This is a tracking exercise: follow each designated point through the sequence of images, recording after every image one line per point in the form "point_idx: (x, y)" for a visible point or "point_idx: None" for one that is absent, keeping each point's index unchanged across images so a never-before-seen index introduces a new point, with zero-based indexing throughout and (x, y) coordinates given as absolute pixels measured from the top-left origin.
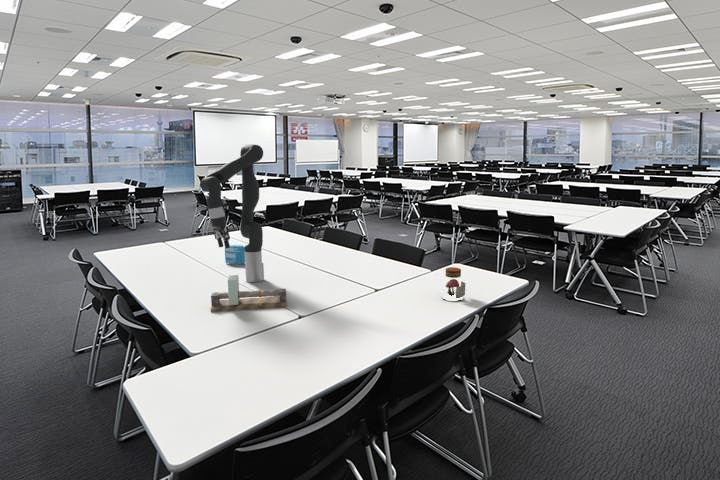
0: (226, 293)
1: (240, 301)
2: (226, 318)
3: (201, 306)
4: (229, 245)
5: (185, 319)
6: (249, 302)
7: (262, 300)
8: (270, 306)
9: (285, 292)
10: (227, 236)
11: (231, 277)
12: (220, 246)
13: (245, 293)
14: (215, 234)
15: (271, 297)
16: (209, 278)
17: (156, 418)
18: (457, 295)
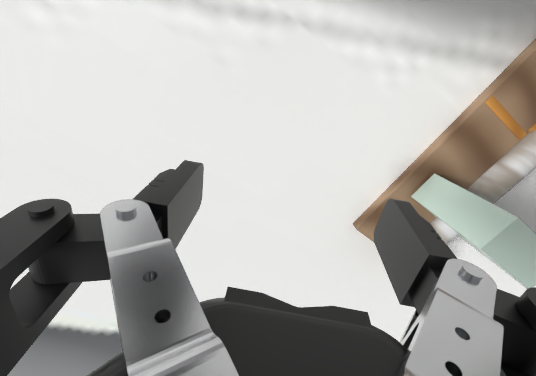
0: (449, 241)
1: (445, 178)
2: (485, 260)
3: (343, 260)
4: (416, 211)
5: (394, 322)
6: (482, 163)
7: (514, 116)
8: None
9: None
10: (492, 317)
11: (516, 260)
12: (199, 197)
13: (509, 189)
14: (29, 339)
15: (527, 65)
16: (6, 62)
17: None
18: None
